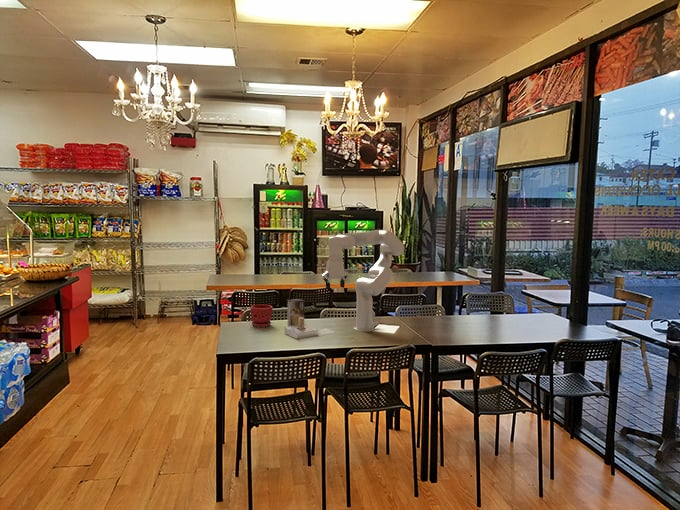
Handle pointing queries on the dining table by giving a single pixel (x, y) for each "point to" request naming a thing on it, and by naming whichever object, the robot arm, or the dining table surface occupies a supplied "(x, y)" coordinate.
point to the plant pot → (261, 315)
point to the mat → (325, 331)
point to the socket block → (300, 331)
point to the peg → (301, 323)
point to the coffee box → (295, 311)
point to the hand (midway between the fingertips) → (335, 288)
